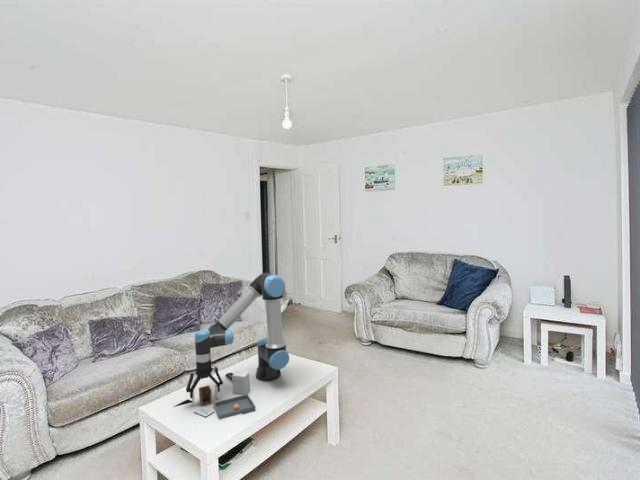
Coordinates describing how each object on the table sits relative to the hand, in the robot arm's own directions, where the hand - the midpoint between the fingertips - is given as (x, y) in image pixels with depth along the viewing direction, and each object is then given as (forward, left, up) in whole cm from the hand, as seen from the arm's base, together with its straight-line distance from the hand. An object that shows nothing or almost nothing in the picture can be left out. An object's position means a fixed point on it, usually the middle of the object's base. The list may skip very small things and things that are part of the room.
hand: (205, 400), depth 192 cm
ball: (-12, +17, 0) cm, 21 cm away
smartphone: (+13, -2, -2) cm, 13 cm away
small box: (-20, -3, -2) cm, 20 cm away
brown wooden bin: (0, 0, -2) cm, 2 cm away
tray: (-12, +13, -2) cm, 18 cm away
